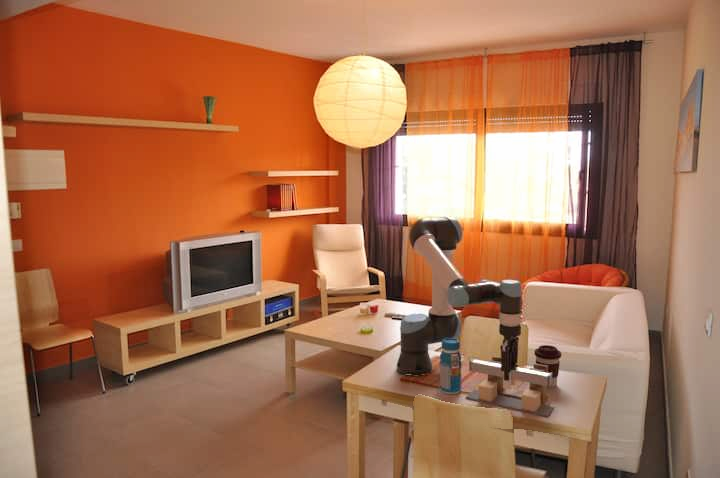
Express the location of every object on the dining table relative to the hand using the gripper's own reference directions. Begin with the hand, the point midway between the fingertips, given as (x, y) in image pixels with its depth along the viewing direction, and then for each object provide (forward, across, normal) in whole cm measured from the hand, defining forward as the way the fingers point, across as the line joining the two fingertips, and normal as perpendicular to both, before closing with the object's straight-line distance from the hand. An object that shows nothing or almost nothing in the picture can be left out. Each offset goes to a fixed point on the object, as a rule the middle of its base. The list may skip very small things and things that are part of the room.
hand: (509, 386), depth 200 cm
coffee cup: (+7, +25, -7) cm, 27 cm away
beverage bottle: (+7, 0, +23) cm, 24 cm away
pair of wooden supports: (+7, +9, 0) cm, 11 cm away
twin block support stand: (+7, 0, 0) cm, 7 cm away
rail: (-4, 0, 0) cm, 4 cm away
